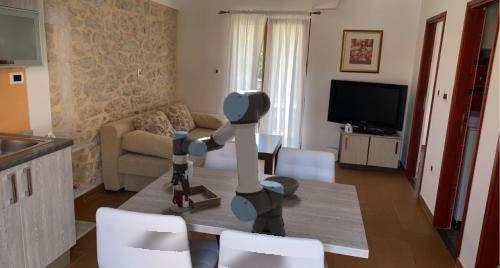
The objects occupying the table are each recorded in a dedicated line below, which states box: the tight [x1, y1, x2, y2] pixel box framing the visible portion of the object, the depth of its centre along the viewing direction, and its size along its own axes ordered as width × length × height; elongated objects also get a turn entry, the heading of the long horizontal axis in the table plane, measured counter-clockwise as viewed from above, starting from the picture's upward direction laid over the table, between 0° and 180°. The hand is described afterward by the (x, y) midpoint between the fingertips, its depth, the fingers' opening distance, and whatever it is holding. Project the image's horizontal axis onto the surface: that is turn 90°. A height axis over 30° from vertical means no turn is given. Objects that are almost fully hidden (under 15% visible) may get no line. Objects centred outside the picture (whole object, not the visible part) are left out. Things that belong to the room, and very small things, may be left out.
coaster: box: [170, 203, 191, 213], centre depth 185 cm, size 10×10×1 cm
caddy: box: [189, 184, 222, 210], centre depth 196 cm, size 22×15×4 cm
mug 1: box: [169, 160, 194, 185], centre depth 220 cm, size 15×11×13 cm
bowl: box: [262, 175, 300, 197], centre depth 208 cm, size 21×21×8 cm
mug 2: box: [172, 184, 184, 207], centre depth 184 cm, size 11×8×10 cm
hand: (180, 202), depth 184 cm, fingers open, 13 cm apart
